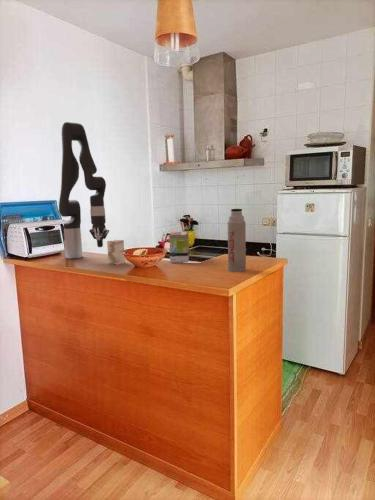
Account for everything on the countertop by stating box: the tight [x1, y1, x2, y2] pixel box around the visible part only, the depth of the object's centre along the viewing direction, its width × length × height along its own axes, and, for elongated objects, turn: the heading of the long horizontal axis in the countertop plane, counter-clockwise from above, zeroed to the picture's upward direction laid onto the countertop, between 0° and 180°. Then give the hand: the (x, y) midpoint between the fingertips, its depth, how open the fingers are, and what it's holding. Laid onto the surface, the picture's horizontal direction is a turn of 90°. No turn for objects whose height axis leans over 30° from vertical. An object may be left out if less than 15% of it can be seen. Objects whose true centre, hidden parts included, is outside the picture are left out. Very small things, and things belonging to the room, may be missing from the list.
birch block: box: [106, 239, 126, 266], centre depth 195 cm, size 6×6×12 cm
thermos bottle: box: [227, 208, 247, 273], centre depth 169 cm, size 8×8×28 cm
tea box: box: [168, 231, 190, 264], centre depth 198 cm, size 15×10×15 cm, turn 179°
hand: (100, 246), depth 200 cm, fingers closed
